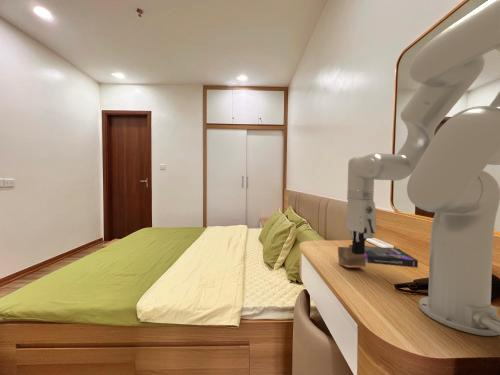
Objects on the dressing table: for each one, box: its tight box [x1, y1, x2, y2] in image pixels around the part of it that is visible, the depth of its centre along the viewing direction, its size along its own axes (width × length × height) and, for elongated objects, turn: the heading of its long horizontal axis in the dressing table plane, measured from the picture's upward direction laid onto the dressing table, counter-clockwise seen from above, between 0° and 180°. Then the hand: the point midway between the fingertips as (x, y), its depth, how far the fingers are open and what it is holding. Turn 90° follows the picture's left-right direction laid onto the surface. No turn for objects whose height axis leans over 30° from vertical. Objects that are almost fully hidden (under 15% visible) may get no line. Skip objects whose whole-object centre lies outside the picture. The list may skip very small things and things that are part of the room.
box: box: [348, 244, 419, 268], centre depth 86 cm, size 14×4×20 cm
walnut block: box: [337, 246, 367, 268], centre depth 75 cm, size 6×6×6 cm
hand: (358, 253), depth 71 cm, fingers closed
